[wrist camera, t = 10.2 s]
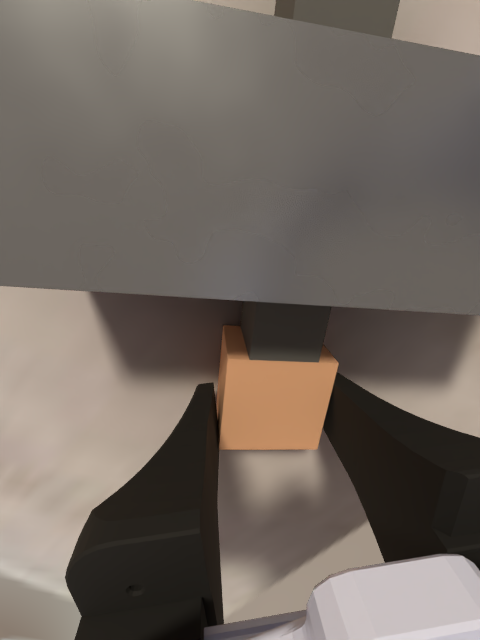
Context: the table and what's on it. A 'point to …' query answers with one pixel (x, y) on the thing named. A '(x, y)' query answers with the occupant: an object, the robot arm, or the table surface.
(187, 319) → the table surface
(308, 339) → the grey orange long bar
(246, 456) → the table surface
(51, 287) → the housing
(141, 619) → the robot arm
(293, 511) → the table surface
